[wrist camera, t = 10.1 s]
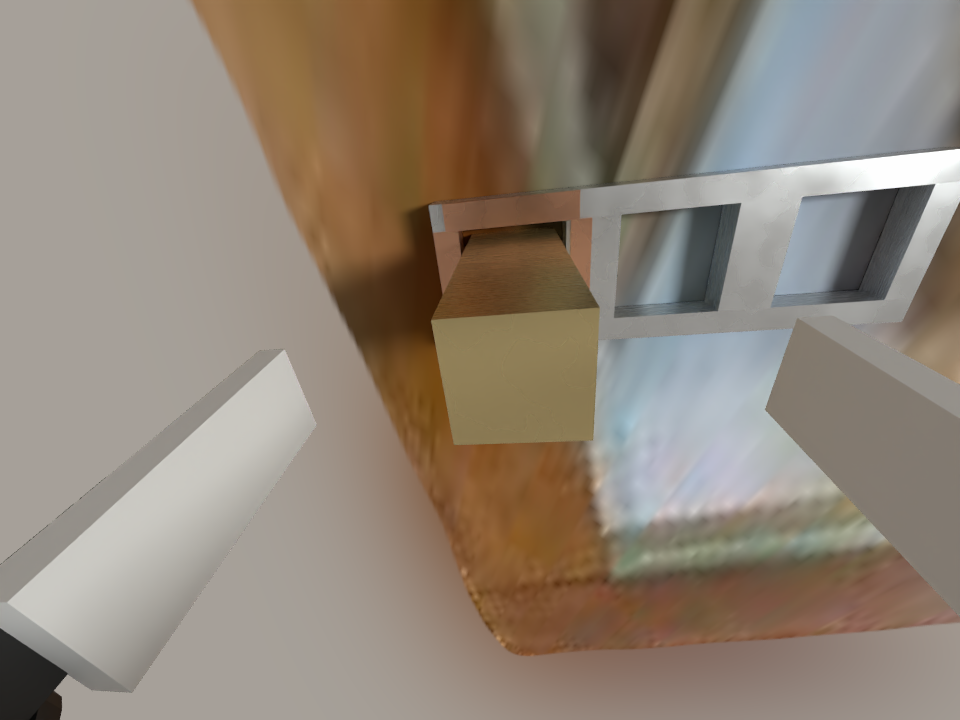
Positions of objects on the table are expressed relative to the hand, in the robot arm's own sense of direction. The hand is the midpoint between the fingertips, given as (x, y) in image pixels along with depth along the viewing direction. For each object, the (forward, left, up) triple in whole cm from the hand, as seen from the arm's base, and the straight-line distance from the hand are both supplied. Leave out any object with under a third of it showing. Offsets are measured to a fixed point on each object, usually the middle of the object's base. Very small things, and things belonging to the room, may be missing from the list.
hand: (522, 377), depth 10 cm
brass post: (0, 0, -12) cm, 12 cm away
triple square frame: (0, +8, -12) cm, 15 cm away
